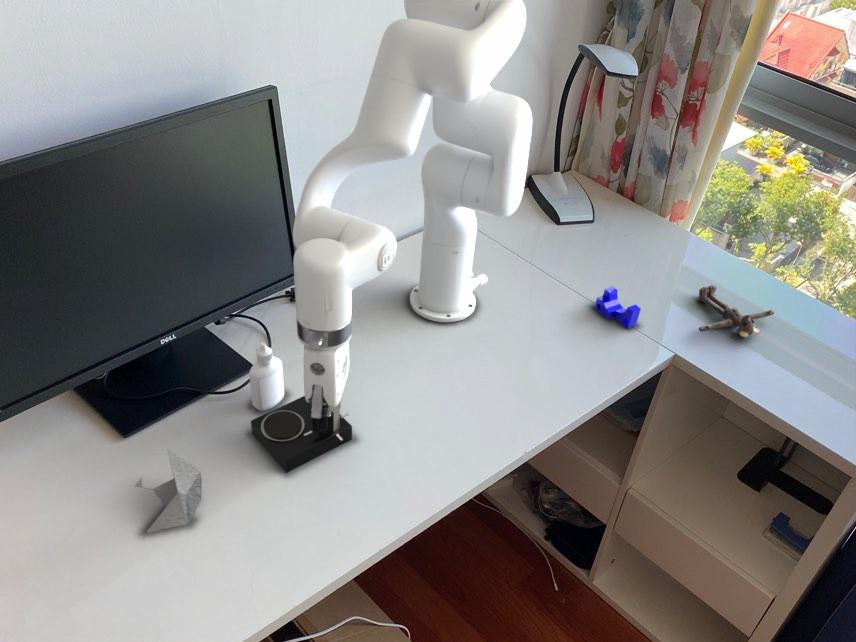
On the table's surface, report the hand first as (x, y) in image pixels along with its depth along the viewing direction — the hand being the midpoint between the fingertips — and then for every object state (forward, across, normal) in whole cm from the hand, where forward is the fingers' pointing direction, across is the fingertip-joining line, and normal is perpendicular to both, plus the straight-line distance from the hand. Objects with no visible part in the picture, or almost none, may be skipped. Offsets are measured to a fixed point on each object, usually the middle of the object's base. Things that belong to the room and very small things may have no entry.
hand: (326, 418), depth 123 cm
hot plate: (+4, 0, +4) cm, 6 cm away
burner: (+1, -2, +7) cm, 7 cm away
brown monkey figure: (+5, +46, -69) cm, 83 cm away
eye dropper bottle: (+5, +6, +11) cm, 14 cm away
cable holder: (+5, +42, -47) cm, 63 cm away
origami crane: (+5, -17, +19) cm, 26 cm away
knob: (+1, 0, 0) cm, 1 cm away
